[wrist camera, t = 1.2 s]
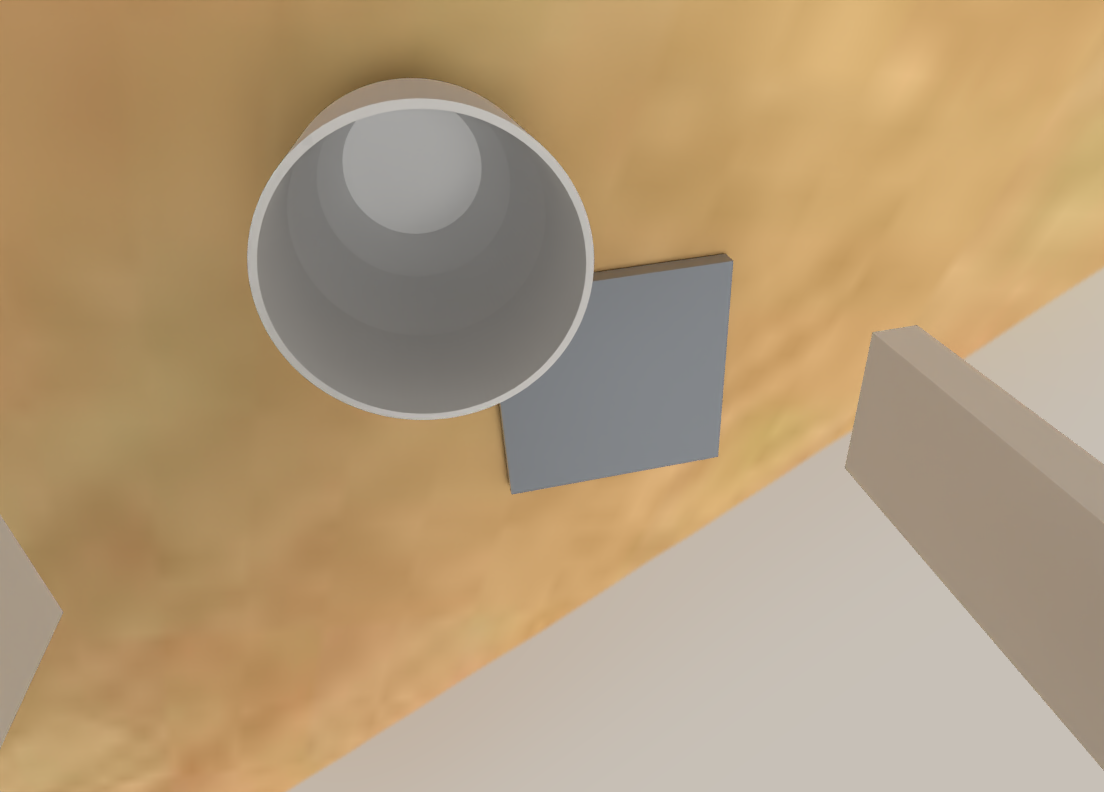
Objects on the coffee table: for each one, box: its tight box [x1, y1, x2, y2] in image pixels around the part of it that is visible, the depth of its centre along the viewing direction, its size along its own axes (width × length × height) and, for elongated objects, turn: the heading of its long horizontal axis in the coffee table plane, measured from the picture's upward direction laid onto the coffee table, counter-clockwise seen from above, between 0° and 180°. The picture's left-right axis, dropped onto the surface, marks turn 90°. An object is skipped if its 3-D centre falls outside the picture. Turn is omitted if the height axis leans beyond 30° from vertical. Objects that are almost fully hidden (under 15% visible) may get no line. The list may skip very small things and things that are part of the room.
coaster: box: [499, 254, 733, 494], centre depth 32 cm, size 10×10×1 cm
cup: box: [247, 78, 594, 420], centre depth 22 cm, size 8×8×10 cm
